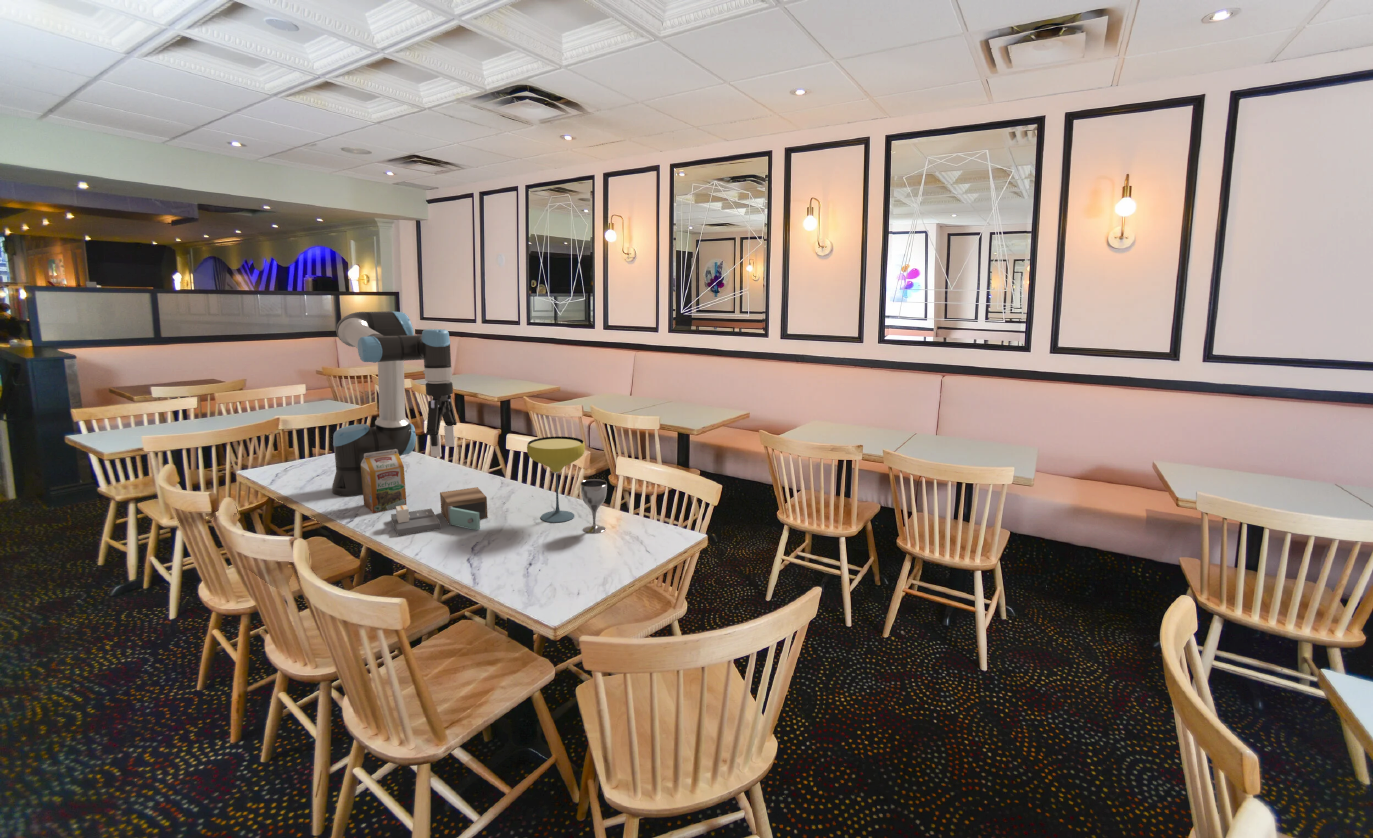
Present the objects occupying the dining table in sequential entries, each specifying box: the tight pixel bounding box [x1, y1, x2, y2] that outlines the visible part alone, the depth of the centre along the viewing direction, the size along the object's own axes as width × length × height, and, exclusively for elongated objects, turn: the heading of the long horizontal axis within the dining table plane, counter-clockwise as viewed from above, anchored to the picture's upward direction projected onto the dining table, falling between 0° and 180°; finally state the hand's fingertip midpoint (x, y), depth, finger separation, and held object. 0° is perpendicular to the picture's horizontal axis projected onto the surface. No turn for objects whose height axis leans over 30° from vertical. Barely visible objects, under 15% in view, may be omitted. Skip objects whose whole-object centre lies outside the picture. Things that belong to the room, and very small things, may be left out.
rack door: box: [447, 506, 481, 531], centre depth 193 cm, size 2×12×6 cm, turn 66°
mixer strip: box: [390, 508, 441, 537], centre depth 196 cm, size 15×12×2 cm
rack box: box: [439, 486, 489, 525], centre depth 204 cm, size 12×12×7 cm
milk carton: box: [361, 449, 407, 514], centre depth 210 cm, size 11×11×19 cm
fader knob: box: [395, 505, 410, 523], centre depth 193 cm, size 4×3×4 cm
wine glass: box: [580, 478, 608, 535], centre depth 193 cm, size 8×8×15 cm
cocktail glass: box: [526, 436, 586, 524], centre depth 202 cm, size 18×18×25 cm
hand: (443, 451), depth 190 cm, fingers open, 13 cm apart
